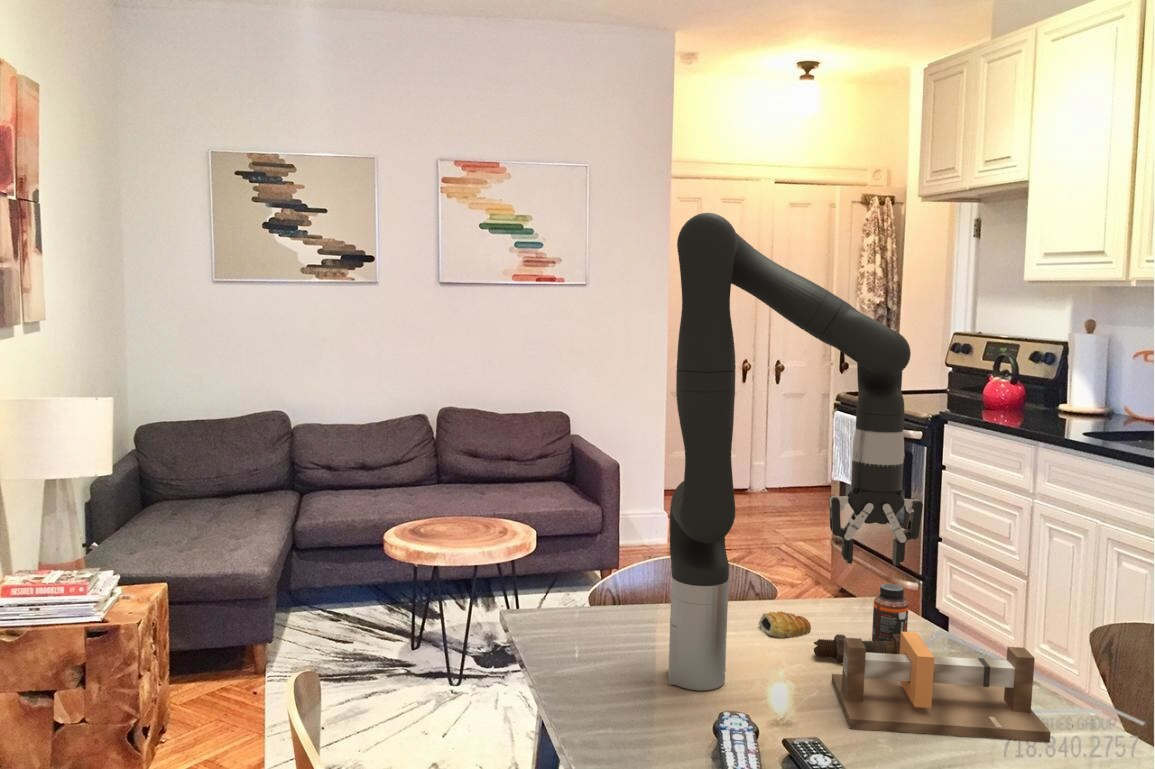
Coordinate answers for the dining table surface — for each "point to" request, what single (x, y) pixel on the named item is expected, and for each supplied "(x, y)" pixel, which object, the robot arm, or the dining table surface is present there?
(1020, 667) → the pipe stand
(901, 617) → the supplement bottle
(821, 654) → the bolt
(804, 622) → the pastry
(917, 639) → the collar
